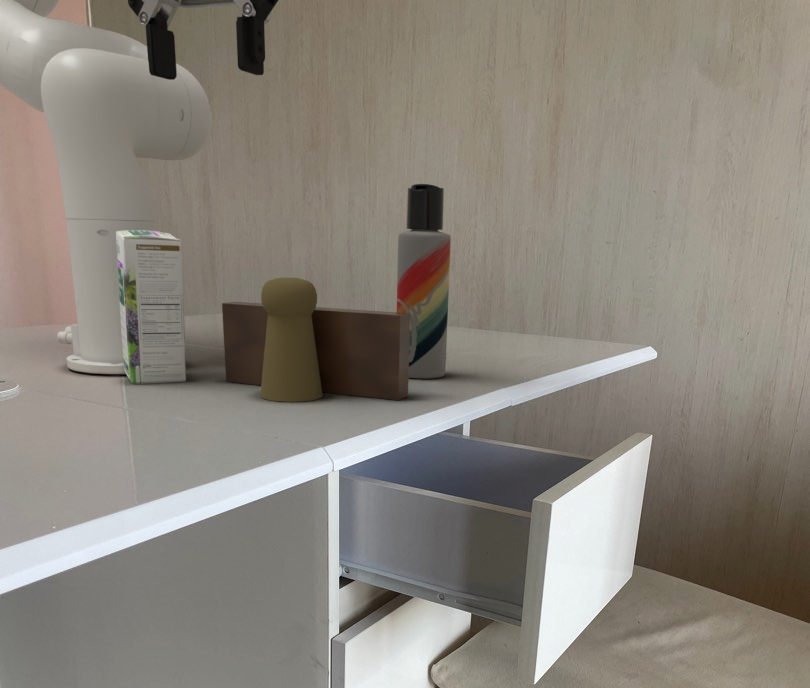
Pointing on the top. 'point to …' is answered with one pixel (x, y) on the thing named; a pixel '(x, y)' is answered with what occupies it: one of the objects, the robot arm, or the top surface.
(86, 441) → the top surface
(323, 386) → the brown wooden block
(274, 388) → the cork
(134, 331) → the syrup box
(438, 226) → the lotion bottle
